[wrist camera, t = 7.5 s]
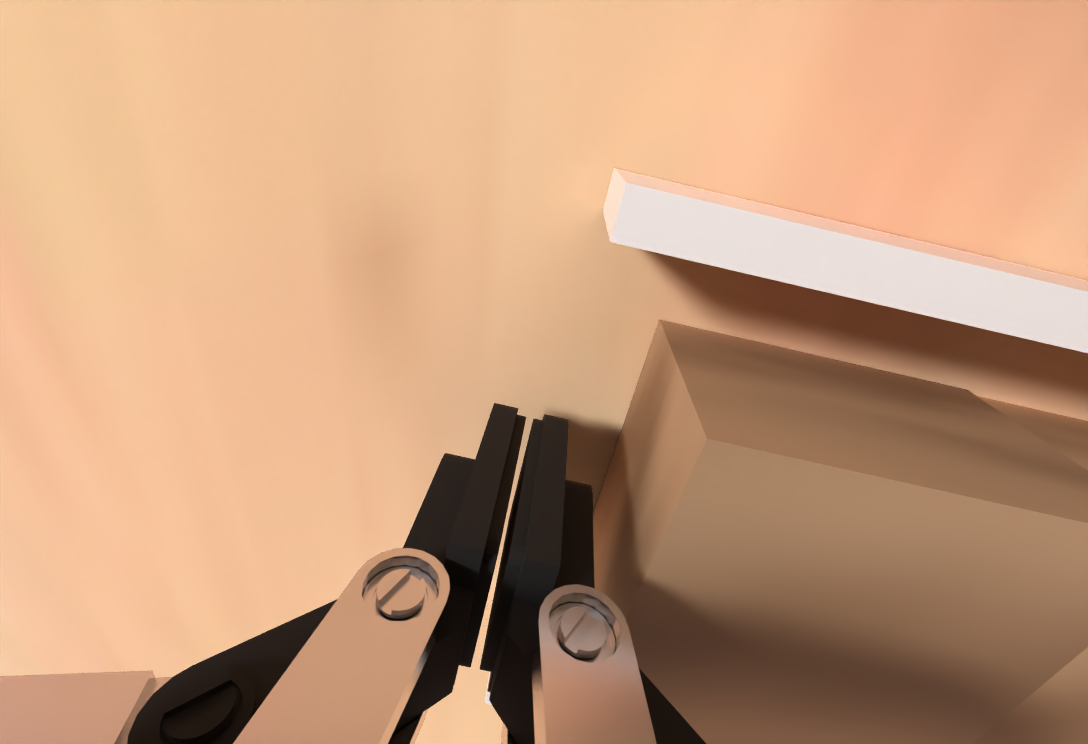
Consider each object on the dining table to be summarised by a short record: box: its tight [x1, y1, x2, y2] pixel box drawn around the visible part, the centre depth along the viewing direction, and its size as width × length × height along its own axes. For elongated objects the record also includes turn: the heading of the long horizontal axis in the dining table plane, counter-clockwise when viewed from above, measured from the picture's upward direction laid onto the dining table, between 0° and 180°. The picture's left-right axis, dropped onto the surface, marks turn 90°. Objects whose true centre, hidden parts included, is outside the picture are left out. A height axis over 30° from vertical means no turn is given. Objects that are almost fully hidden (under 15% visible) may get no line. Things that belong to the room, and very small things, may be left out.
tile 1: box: [593, 320, 1088, 744], centre depth 10 cm, size 7×7×4 cm
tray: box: [484, 168, 1088, 705], centre depth 11 cm, size 13×18×3 cm
